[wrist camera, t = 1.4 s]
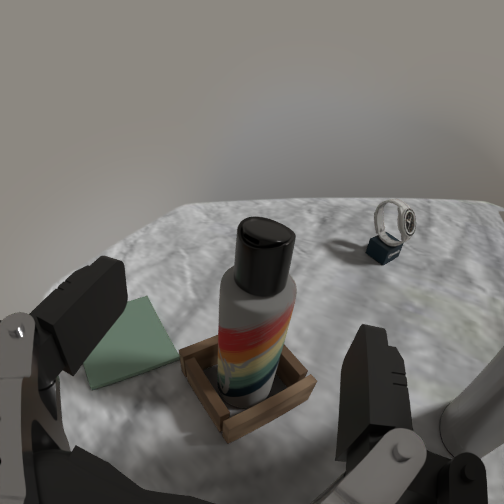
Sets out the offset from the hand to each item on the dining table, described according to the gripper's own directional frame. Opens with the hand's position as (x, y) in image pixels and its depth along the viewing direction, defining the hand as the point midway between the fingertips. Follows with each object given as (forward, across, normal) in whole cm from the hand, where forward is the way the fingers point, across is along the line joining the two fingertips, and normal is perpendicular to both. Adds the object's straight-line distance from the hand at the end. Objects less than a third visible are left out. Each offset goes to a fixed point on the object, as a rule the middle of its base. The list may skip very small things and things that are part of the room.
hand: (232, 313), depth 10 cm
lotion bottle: (+13, 0, +22) cm, 25 cm away
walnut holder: (+13, 0, +22) cm, 25 cm away
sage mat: (+14, +16, +22) cm, 30 cm away
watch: (+45, -18, +18) cm, 52 cm away
